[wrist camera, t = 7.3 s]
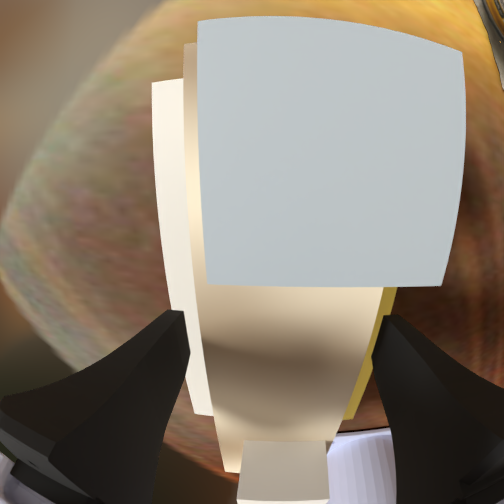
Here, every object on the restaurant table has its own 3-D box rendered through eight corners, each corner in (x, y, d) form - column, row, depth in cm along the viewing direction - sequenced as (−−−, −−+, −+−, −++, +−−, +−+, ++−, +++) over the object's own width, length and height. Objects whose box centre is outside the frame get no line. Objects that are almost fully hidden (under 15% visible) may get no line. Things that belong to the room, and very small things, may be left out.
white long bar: (313, 419, 16) (317, 473, 12) (233, 417, 16) (225, 471, 12) (358, 79, 8) (402, 54, 5) (217, 74, 9) (184, 44, 5)
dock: (347, 395, 17) (352, 418, 15) (200, 391, 18) (194, 414, 16) (398, 95, 10) (418, 90, 8) (170, 89, 11) (151, 82, 9)
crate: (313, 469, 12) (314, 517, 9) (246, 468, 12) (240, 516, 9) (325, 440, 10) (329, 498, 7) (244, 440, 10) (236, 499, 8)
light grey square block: (382, 223, 6) (440, 285, 4) (235, 220, 7) (207, 284, 4) (389, 79, 5) (461, 52, 2) (232, 68, 5) (197, 20, 3)
